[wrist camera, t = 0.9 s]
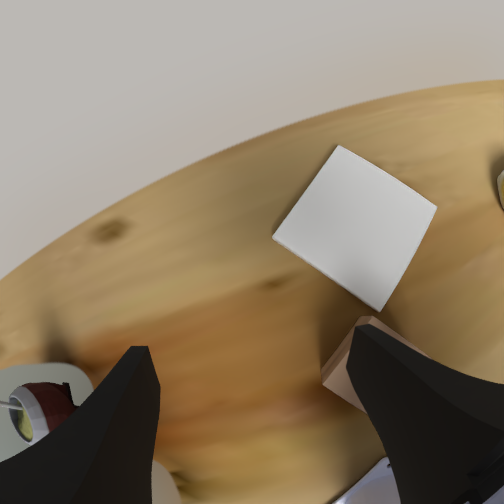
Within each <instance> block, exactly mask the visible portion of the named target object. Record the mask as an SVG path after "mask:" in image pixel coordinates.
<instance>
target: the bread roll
mask: <svg viewBox="0 0 504 504" xmlns="http://www.w3.org/2000/svg"><path fill="white" fill-rule="evenodd" d="M497 185H498V191H499V196H500V201H501V204H502V207H503V209H504V170H503V171H502V172H501V174H500V175H499V176H498V178H497Z"/></svg>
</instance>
